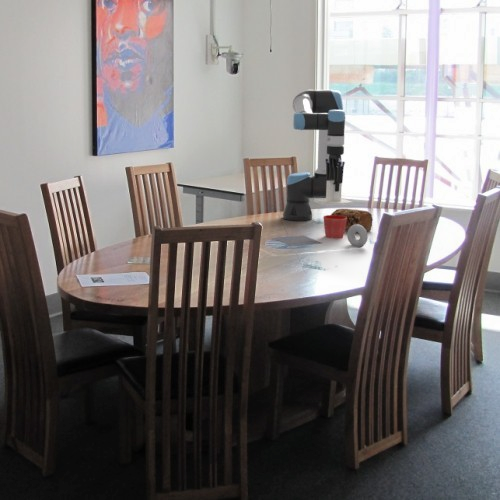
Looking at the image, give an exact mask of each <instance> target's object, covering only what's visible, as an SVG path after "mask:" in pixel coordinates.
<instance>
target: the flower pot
mask: <svg viewBox="0 0 500 500" xmlns="http://www.w3.org/2000/svg"><path fill="white" fill-rule="evenodd" d="M322 218H323V225H324V226H323V227H324V234H325V235H324V236H325V238H328V239H344V236H345V232H346V231H345V226H346V222H347V217H345V216H340V215H331V214H329V215H328V214H327V215H323V217H322Z"/></svg>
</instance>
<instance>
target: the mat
mask: <svg viewBox="0 0 500 500" xmlns="http://www.w3.org/2000/svg"><path fill="white" fill-rule="evenodd" d="M272 239H274V240H276V241H278V242H280V243H283V244H285V245H288V246H289V247H293V246H295V247H296V246H306V245H308V246H309V245H320V244H323V242H321V241H319V240H316V239H314V238H311V237H309V236H307V235H294V236H281V237H272Z"/></svg>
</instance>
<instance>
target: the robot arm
mask: <svg viewBox="0 0 500 500" xmlns="http://www.w3.org/2000/svg"><path fill="white" fill-rule="evenodd" d="M292 108H293V110H294V112H295V113H293V122H292V123H293V124H292V125H293V126H292V127H293V129H294V130H299V131H318V145H317V147H318V148H317V149H318V151H317V167H316V168H317V169H316V170H315V171H314V172H313V173H314V174H313V175H312V174H311V172H309V171H307V172H306V171H305V172H304V171H302V172H295V173H290V174H289V175H288V176H287V180H286V202H285V203H286V204H285V206H284V210H283V213H282V219H283V220H286V221H287V220H288V221H296V222H298V221H299V222H300V221H303V222H304V221H305V222H306V221H311V220H312V219H313V212H312V209H311V205H310V199H326V185H327V181H328V180H334V183H333V199H339V184H340V183H342V184H343V180H344V179H343V178H344V168H345V164H346V162H345V161H342V156H343V155H344V154H345V147H344V145H345V124H346V112H345V110H344V105H343V97H342V93H341V92H340V91H339V90H336V89H335V90H334V89H307V90H304V91H302V92H300V93H299V94H297V95H296V96H295V97H294V98H293V101H292Z"/></svg>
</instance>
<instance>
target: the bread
mask: <svg viewBox="0 0 500 500" xmlns="http://www.w3.org/2000/svg"><path fill="white" fill-rule="evenodd" d="M330 215H340V216H345V217H347V222H346V226H345V231H344V232H348V230H349V228H350V227H351V226H352V225H355V224H359V225H361V226H363V227H364V228H365V229H366V231H367V233H369V232H371V230H372V227H373V220H374V219H373V215H372V213H371V212H369V211H367V210H360V209H356V208H355V209H353V208H352V209H351V208H338V209H335V210H334V211H333V212H331V214H330ZM355 234H359V233H358V232H356V233H355Z"/></svg>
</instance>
